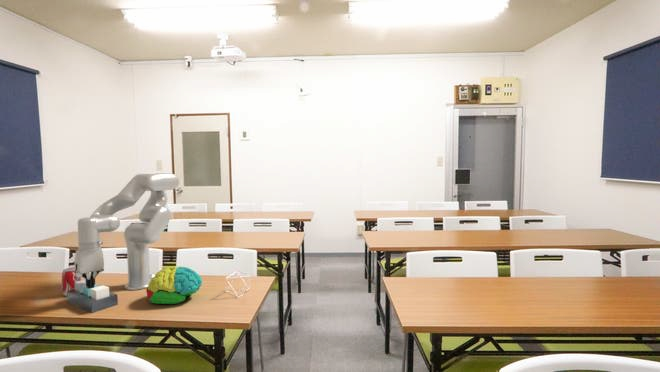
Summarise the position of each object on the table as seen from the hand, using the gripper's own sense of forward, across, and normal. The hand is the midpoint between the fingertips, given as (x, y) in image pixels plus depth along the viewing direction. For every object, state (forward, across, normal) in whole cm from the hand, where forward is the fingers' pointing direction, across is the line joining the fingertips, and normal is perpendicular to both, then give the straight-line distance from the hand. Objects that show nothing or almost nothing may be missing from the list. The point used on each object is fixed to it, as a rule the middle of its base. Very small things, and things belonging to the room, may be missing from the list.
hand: (90, 287), depth 151 cm
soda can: (+7, 0, -20) cm, 21 cm away
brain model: (+7, -22, +27) cm, 36 cm away
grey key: (+4, 0, -8) cm, 9 cm away
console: (+7, 0, 0) cm, 7 cm away
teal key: (+5, 0, 0) cm, 5 cm away
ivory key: (+4, 0, +7) cm, 8 cm away
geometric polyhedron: (+7, -42, +46) cm, 63 cm away
